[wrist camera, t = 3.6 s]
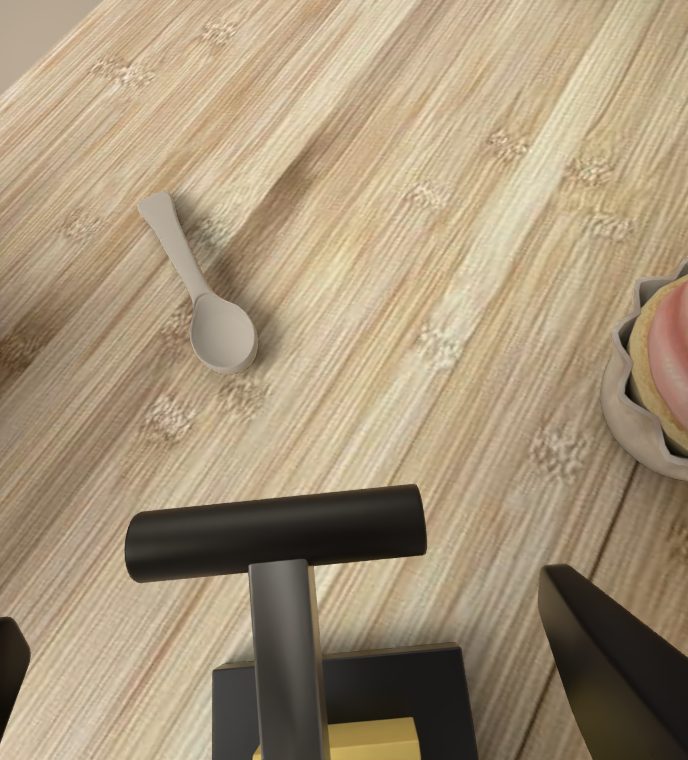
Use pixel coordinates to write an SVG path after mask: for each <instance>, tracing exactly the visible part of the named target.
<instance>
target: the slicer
mask: <svg viewBox="0 0 688 760" xmlns="http://www.w3.org/2000/svg"><path fill="white" fill-rule="evenodd" d="M322 666H323V677H324V688H325V699H326V711H327V722H328V725H331V724H342V723H353V722H364V721H376V720H387V719H398V718H409V717H412V718H413V719H414V724H415V728H416V732H417V736H418V740H419V746H420V755H421V760H479V758H478V752H477V746H476V739H475V733H474V726H473V720H472V714H471V707H470V701H469V695H468V688H467V682H466V675H465V669H464V663H463V656H462V650H461V647H460V646H459V645H458V644H457V643H455V642H451V643H440V644H430V645H419V646H408V647H398V648H387V649H376V650H366V651H355V652H345V653H334V654H323V655H322ZM259 745H260V734H259V719H258V705H257V690H256V676H255V661H249V662H238V663H228V664H222V665H220V666H219V667H217V668H216V669H214V670H213V672H212V760H253V755H254V753H255V752H256V750H257V748H258V747H259Z"/></svg>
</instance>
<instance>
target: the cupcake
mask: <svg viewBox="0 0 688 760" xmlns="http://www.w3.org/2000/svg"><path fill="white" fill-rule="evenodd" d="M611 337H612V349H613V354H612V356H611V359H610V361H609V363H608V365H607V367H606V370H605V373H604V376H603V379H602V383H601V397H600V402H601V406H602V410H603V414H604V417H605V420H606V422H607V424H608V426H609V429H610V431H611V432H612V434H613V436H614V438H615V439H616V441H617V442H618V443H619V444H620V445H621V446H622V447H623V448H624V449H625V450H626V451H627V452H628V453H629V454H630V455H631V456H632V457H633V458H635V459H636V460H637V461H639V462H640V463H641V464H643V465H644V466H646V467H647V468H648V469H650V470H652V471H655V472H657V473H659V474H662V475H664V476H667V477H670V478H673V479H678V480H682V481H688V257H687V258H685V259H684V260H683V261H682V262H681V263H680V265H679V266H678V268H677V270H676V271H675V273H674V274H673V276H651V277H643V278H639V279H636V282H635V285H634V291H633V300H632V309H631V314H629V315H628V316H626V317H624V318H623V319H621V320H619V321H618V322H617V324H616V325H615V327H614V328H613V330H612V331H611Z"/></svg>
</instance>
